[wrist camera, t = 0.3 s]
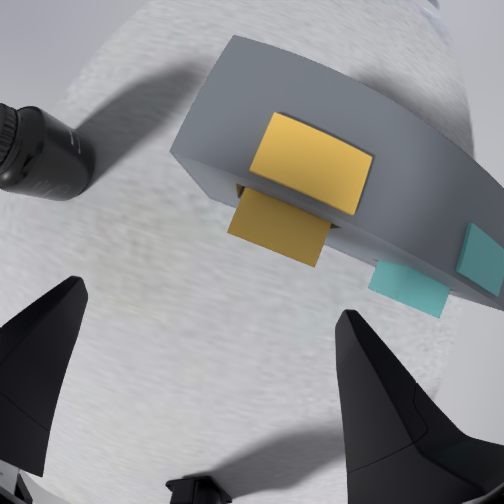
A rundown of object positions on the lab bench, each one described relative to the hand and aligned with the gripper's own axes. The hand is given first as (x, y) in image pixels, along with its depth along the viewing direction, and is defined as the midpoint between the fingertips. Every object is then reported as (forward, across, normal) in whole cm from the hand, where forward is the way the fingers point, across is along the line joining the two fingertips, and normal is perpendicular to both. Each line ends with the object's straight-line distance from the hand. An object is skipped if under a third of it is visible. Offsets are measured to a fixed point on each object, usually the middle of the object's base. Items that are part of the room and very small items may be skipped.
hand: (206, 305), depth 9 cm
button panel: (+15, -8, +4) cm, 17 cm away
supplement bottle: (+16, +17, +2) cm, 24 cm away
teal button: (+8, -12, +4) cm, 15 cm away
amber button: (+8, -3, +1) cm, 8 cm away
